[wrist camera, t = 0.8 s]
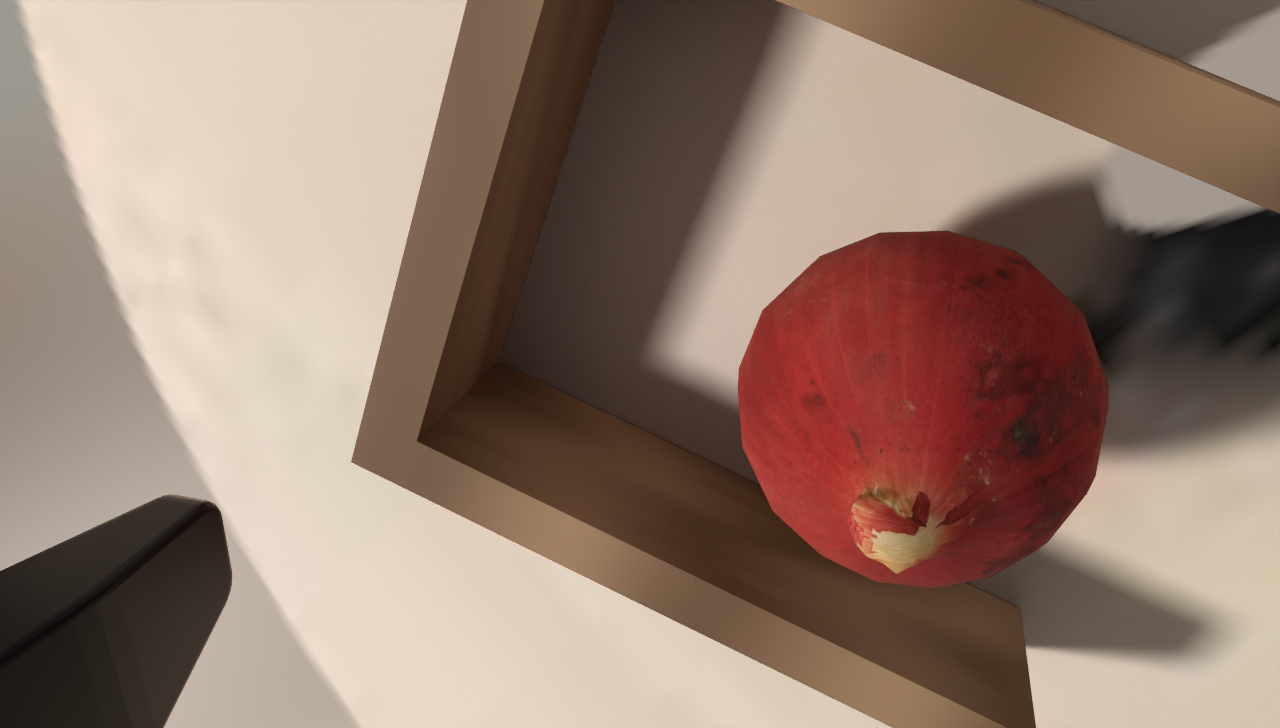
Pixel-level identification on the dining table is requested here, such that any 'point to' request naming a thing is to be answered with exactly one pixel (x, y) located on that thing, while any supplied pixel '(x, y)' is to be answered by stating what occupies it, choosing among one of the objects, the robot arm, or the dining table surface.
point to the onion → (923, 407)
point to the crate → (664, 473)
